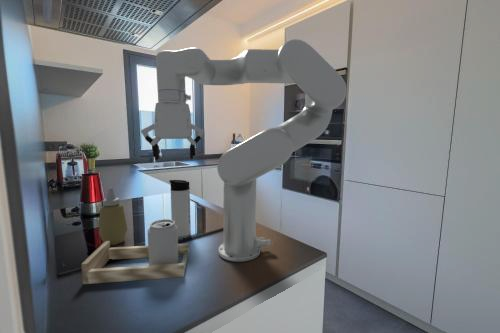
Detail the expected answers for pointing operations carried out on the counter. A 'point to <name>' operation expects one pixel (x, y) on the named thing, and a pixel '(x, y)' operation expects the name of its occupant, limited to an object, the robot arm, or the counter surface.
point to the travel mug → (181, 207)
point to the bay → (100, 257)
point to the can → (163, 242)
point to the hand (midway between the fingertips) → (174, 159)
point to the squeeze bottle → (112, 220)
